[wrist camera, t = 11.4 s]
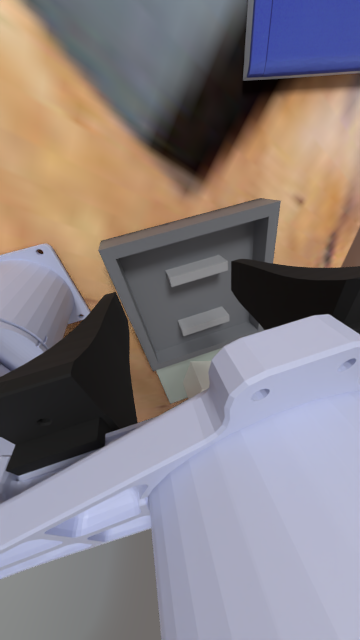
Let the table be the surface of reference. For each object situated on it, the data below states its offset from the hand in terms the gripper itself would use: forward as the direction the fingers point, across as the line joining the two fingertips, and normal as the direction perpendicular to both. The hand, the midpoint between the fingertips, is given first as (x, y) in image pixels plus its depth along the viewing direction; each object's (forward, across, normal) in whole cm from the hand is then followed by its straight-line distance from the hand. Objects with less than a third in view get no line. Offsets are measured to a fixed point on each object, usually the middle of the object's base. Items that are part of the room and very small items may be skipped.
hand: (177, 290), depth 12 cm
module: (+9, -2, +21) cm, 23 cm away
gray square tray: (+9, -3, +6) cm, 12 cm away
